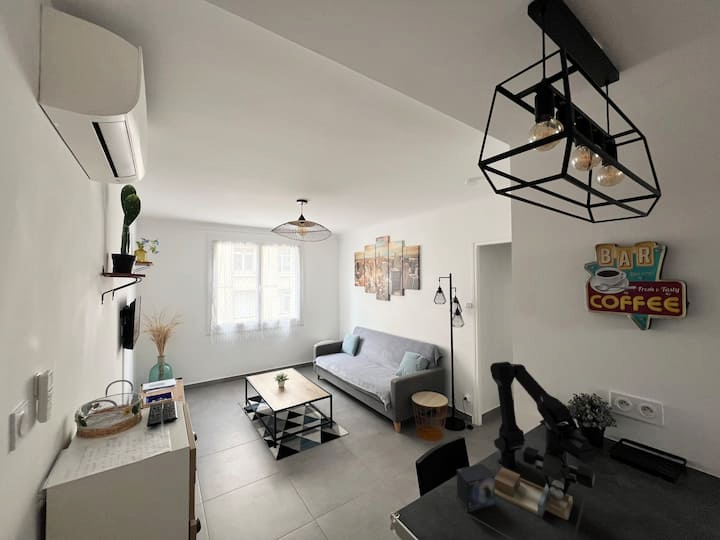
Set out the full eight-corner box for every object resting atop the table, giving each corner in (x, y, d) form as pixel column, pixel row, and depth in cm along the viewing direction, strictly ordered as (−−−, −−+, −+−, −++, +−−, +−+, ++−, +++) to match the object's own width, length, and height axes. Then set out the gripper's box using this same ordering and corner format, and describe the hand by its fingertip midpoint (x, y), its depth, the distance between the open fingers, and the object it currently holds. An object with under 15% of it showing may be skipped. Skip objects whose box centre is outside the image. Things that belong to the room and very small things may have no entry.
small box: (468, 515, 92) (467, 482, 92) (456, 499, 99) (455, 468, 99) (496, 507, 95) (495, 475, 95) (482, 492, 101) (482, 462, 101)
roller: (549, 497, 94) (548, 486, 94) (552, 489, 98) (552, 478, 98) (562, 503, 91) (562, 492, 91) (565, 494, 95) (565, 483, 95)
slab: (502, 476, 108) (502, 467, 108) (520, 484, 104) (520, 474, 104) (494, 488, 102) (494, 478, 102) (513, 497, 98) (512, 487, 98)
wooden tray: (501, 473, 111) (501, 462, 111) (572, 504, 95) (572, 492, 95) (488, 492, 101) (488, 480, 101) (565, 530, 86) (565, 516, 86)
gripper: (517, 443, 95) (518, 491, 95) (589, 469, 82) (590, 524, 82) (526, 429, 103) (527, 473, 103) (594, 451, 90) (595, 501, 90)
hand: (557, 491), depth 95 cm, fingers closed on roller, 3 cm apart
